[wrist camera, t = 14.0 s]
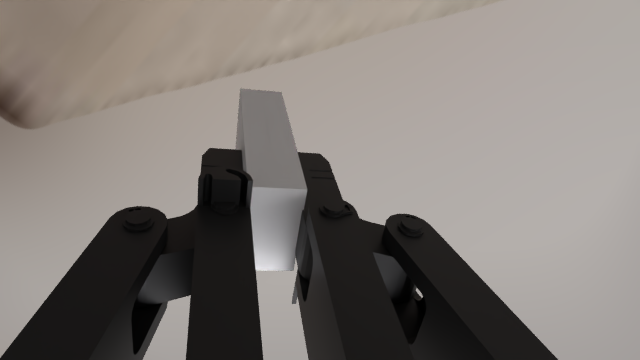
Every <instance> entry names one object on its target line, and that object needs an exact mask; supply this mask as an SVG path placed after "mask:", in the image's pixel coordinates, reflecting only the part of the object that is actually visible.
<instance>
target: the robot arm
mask: <svg viewBox="0 0 640 360" xmlns="http://www.w3.org/2000/svg"><path fill="white" fill-rule="evenodd" d="M295 258H296V260H297V265H298V270H297V276H296V282H295V287H294V293H293V299H292V304H296V300H297V297H298V300H299V306H300V312H301V318H302V324H303V330H304V336H305V341H306V347H307V353H308V358H309V360H558V359H557V358H556V357H555V356H554V355H553V354H552V353H551V352H550V351H549V350H548V349H547V348H546V347H545V346H544V344H543V343H542V342H541V341H540V340H539V339H538V338H537V337H536V336H535V335H534V334H533V333H532V332H531V331H530V330H529V329H528V328H527V326H526V325H525V324H524V323H523V322H522V321H521V320H520V319H519V318H518V317H517V316H516V315H515V314H514V313H513V312H512V311H511V310H510V309H509V308H508V306H507V305H506V304H504V302H503V301H502V300H501V299H500V298H499V297H498V296H497V295H496V294H495V293H494V292H493V291H492V290H491V289H490V287H489V286H488V285H486V283H485V282H484V281H483V280H482V279H481V278H480V277H479V276H478V275H477V274H476V273H475V272H474V271H473V270H472V269H471V268H470V266H469V265H468V264H467V263H466V262H465V261H464V260H463V259H462V258H461V257H460V256H459V255H458V254H457V253H456V252H455V251H454V250H453V249H452V247H451V246H450V245H449V244H448V243H447V242H446V241H445V240H444V239H443V238H442V237H441V236H440V235H439V234H438V233H437V232H436V231H435V230H434V229H433V228H432V227H431V225H429V224H428V223H427V222H426V221H424V220H423V219H420V218H418V217H416V216H413V215H409V214H396V215H392V216H390V217H389V218H388V219H387V220H386V224H385V226H384V225H380V224H376V223H371V222H368V221H365V220H362V219H360V218H359V217H358V214H357V211H356V210H355V208H354V207H353V206H352V205H351V204H349V203H348V202H346V201H344V200H343V199H342V197H341V194H340V191H339V189H338V186H337V183H336V180H335V177H334V175H333V173H332V169H331V166H330V164H329V162H328V161H327V160H326V159H325V158H324V157H323V156H322V155H321V154H316V153H300V152H297V149H296V145H295V141H294V137H293V134H292V130H291V126H290V122H289V118H288V115H287V111H286V107H285V103H284V100H283V96H282V93H281V92H273V91H262V90H251V89H240V99H239V113H238V124H237V137H236V149H235V150H231V149H216V148H209V149H208V150H207V151H206V153H205V154H203V155H202V164H201V174H200V176H199V179H198V205H197V206H196V207H195V209H194V210H192V211H191V212H189V213H188V214H185V215H183V216H180V217H176V218H170V219H167V218H166V216H165V214H163V213H162V212H160V211H159V210H157V209H154V208H151V207H142V206H136V207H130V208H125V209H123V210H121V211H118V212H116V213H115V214H114V215H112V216H111V217H110V218H109V220H108V221H107V222H106V223H105V225H104V226H103V227H102V228H101V230H100V231H99V232H98V234H97V235H96V236H95V238H94V239H93V240H92V241H91V243H90V244H89V245H88V246H87V248H86V249H85V250H84V252H83V253H82V254H81V255H80V257H79V258H78V259H77V261H76V262H75V263H74V264H73V266H72V267H71V268H70V269H69V271H68V272H67V273H66V275H65V276H64V277H63V278H62V280H61V281H60V282H59V284H58V285H57V286H56V287H55V289H54V290H53V291H52V292H51V294H50V295H49V296H48V298H47V299H46V300H45V301H44V303H43V304H42V305H41V307H40V308H39V309H38V311H37V312H36V313H35V314H34V316H33V317H32V318H31V319H30V321H29V322H28V323H27V325H26V326H25V327H24V329H23V330H22V331H21V332H20V334H19V335H18V336H17V337H16V339H15V340H14V341H13V342H12V344H11V345H10V346H9V348H8V349H7V350H6V351H5V353H4V354H3V355H2V357H1V358H0V360H142V359H143V357H144V355H145V353H146V351H147V349H148V347H149V345H150V342H151V340H152V338H153V336H154V334H155V332H156V330H157V327H158V325H159V323H160V321H161V318H162V317H163V315H164V312H165V310H166V308H167V303H168V301H170V300H174V299H178V298H182V297H186V296H189V295H191V299H190V313H189V326H188V340H187V353H186V360H263V352H262V340H261V329H260V317H259V305H258V293H257V281H256V270H281V271H285V270H286V271H289V270H290V271H292V270H294V264H295ZM416 288H418V289H419V290H420V292H421V293H422V295H423V298H421V297H420V296H419V295H418V293H417V292H416Z"/></svg>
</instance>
